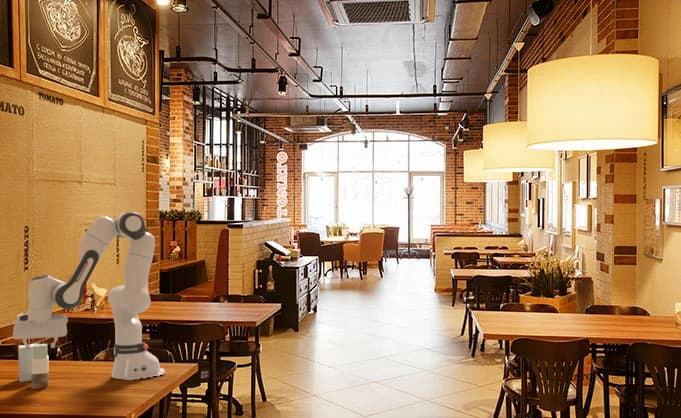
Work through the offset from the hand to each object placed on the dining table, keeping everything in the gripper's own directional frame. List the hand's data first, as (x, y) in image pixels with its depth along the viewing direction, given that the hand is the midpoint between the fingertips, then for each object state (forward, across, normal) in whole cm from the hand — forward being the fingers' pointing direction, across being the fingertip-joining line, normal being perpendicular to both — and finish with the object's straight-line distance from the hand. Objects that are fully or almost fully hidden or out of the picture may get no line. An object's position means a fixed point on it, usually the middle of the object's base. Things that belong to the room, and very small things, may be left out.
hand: (40, 348), depth 265 cm
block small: (+4, 0, 0) cm, 4 cm away
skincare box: (+16, +5, -13) cm, 21 cm away
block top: (+10, 0, 0) cm, 10 cm away
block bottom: (+16, 0, 0) cm, 16 cm away
